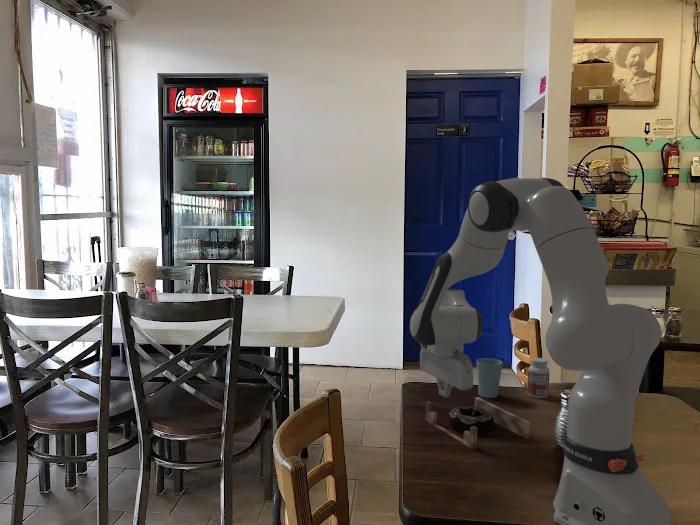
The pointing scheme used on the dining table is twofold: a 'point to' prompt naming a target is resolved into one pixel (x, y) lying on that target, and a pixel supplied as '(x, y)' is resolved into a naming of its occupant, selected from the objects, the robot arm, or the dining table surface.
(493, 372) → the cup
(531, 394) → the pill bottle
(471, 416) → the donut
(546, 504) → the dining table surface
